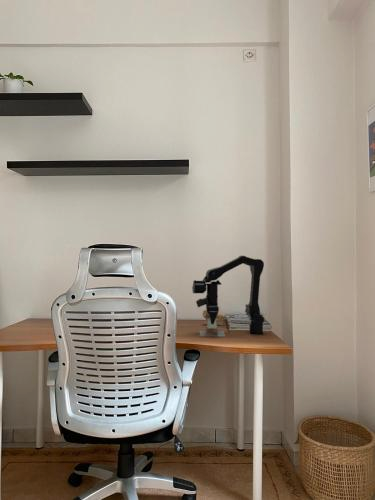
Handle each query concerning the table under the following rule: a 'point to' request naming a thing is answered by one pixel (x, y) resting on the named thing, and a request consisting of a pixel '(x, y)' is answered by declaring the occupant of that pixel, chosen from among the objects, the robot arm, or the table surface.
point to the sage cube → (212, 324)
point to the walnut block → (211, 331)
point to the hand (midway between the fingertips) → (212, 322)
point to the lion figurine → (216, 317)
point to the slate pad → (220, 333)
